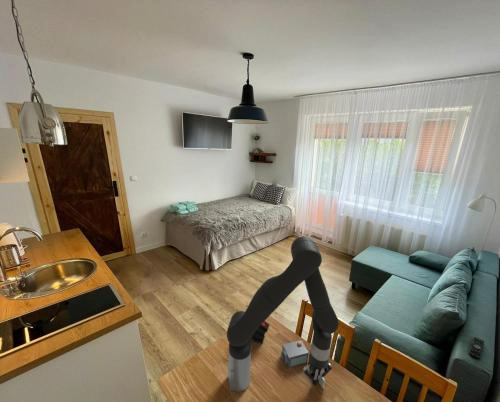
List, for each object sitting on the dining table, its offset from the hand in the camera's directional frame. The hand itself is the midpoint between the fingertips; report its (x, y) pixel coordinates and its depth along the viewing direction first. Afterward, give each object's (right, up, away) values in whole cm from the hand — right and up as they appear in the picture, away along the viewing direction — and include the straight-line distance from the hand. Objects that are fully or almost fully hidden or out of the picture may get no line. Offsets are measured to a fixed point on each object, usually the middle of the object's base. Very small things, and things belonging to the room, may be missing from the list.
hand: (314, 383), depth 95 cm
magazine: (-25, +5, +22) cm, 34 cm away
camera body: (-6, +2, +12) cm, 14 cm away
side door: (+2, 0, +5) cm, 5 cm away
